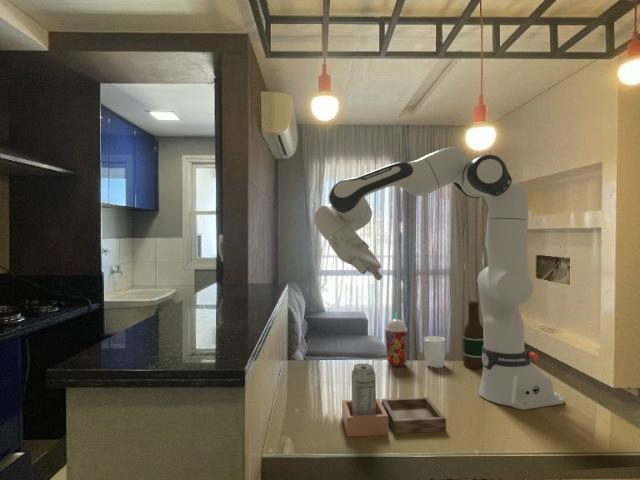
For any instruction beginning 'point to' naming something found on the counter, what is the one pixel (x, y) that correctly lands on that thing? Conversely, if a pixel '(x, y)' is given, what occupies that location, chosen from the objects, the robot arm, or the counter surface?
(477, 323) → the beer bottle
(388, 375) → the counter surface
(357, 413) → the energy drink can
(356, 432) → the holder
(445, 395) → the counter surface
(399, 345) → the smoothie
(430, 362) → the white cup
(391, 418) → the tray
